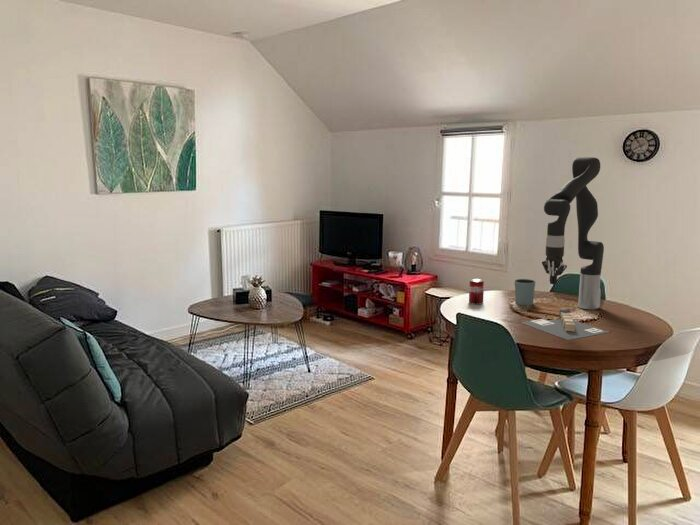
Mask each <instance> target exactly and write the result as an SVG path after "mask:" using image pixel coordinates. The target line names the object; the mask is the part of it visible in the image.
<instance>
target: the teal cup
mask: <svg viewBox="0 0 700 525" xmlns="http://www.w3.org/2000/svg"><path fill="white" fill-rule="evenodd" d="M535 287H536V280H534V279H529V278H519V279H515V280H514V292H515V304H516V305H517V306H522V305H530V306H533V305H534V297H535V289H536V288H535ZM532 304H533V305H532Z"/></svg>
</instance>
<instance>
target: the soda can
mask: <svg viewBox="0 0 700 525" xmlns="http://www.w3.org/2000/svg"><path fill="white" fill-rule="evenodd" d="M468 284H469V285H468V286H469V287H468V289H469V290H468V303H469V304H471V305H482V304H484V292H485V282H484V280H483V279H479V278H473V279H470V280H469V283H468Z"/></svg>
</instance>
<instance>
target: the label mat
mask: <svg viewBox="0 0 700 525" xmlns="http://www.w3.org/2000/svg"><path fill="white" fill-rule="evenodd" d="M519 323H520V324H523V325H525V326H528V327H531V328H534V329H537V330H539V331H542V332H545V333H547V334H548V335H549V334H550V335H552V336H554V337H558V338H561V339H563V340H566V341H572V340H577V339H581V338H587V337H592V336H599V335H603V334H608V333H610V331H608V330H604V329H601V328H599V327H595V326H592V325H589V324H588V323H587V324H586V323H583V322H580V321H578V320H574V323H575V331H565V329H564V326H563V323H562V321H561V320H547V319H544V318H538V319H533V320H527V321H521V322H519Z"/></svg>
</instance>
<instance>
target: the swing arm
mask: <svg viewBox="0 0 700 525" xmlns="http://www.w3.org/2000/svg"><path fill="white" fill-rule="evenodd" d="M570 311H571V309H570V308H567V307H566V308H565V307H562V308H561V307H560V308H559V315H558V316H559V318H560V319H561V321H562V323H563V326H564V329H565V331H575V323H574V321H575V320H574V319H573V317H572V315H571V312H570ZM573 320H574V321H573Z"/></svg>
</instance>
